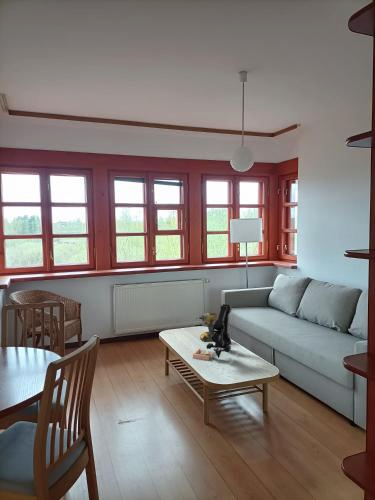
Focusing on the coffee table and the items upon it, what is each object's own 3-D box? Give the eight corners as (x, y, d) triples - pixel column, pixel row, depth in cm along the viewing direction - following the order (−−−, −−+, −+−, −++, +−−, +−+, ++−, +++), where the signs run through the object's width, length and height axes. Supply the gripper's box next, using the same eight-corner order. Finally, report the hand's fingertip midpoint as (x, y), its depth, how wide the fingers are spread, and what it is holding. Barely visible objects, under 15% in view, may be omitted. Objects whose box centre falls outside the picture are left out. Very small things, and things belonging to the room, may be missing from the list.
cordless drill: (193, 339, 340) (193, 313, 338) (213, 337, 347) (213, 311, 345) (196, 342, 332) (197, 315, 330) (217, 340, 339) (217, 313, 337)
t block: (214, 356, 298) (214, 351, 297) (211, 360, 290) (211, 355, 290) (203, 355, 301) (203, 350, 301) (200, 358, 293) (200, 353, 293)
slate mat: (219, 353, 306) (219, 352, 306) (212, 362, 288) (212, 361, 288) (199, 350, 312) (199, 350, 312) (191, 358, 294) (191, 358, 294)
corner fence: (214, 354, 303) (214, 350, 303) (208, 360, 290) (208, 356, 289) (198, 351, 308) (198, 348, 308) (192, 358, 295) (192, 354, 294)
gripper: (232, 336, 295) (232, 355, 296) (210, 334, 301) (210, 352, 303) (229, 341, 284) (229, 360, 286) (206, 338, 291) (206, 357, 292)
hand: (218, 357), depth 292 cm, fingers closed
